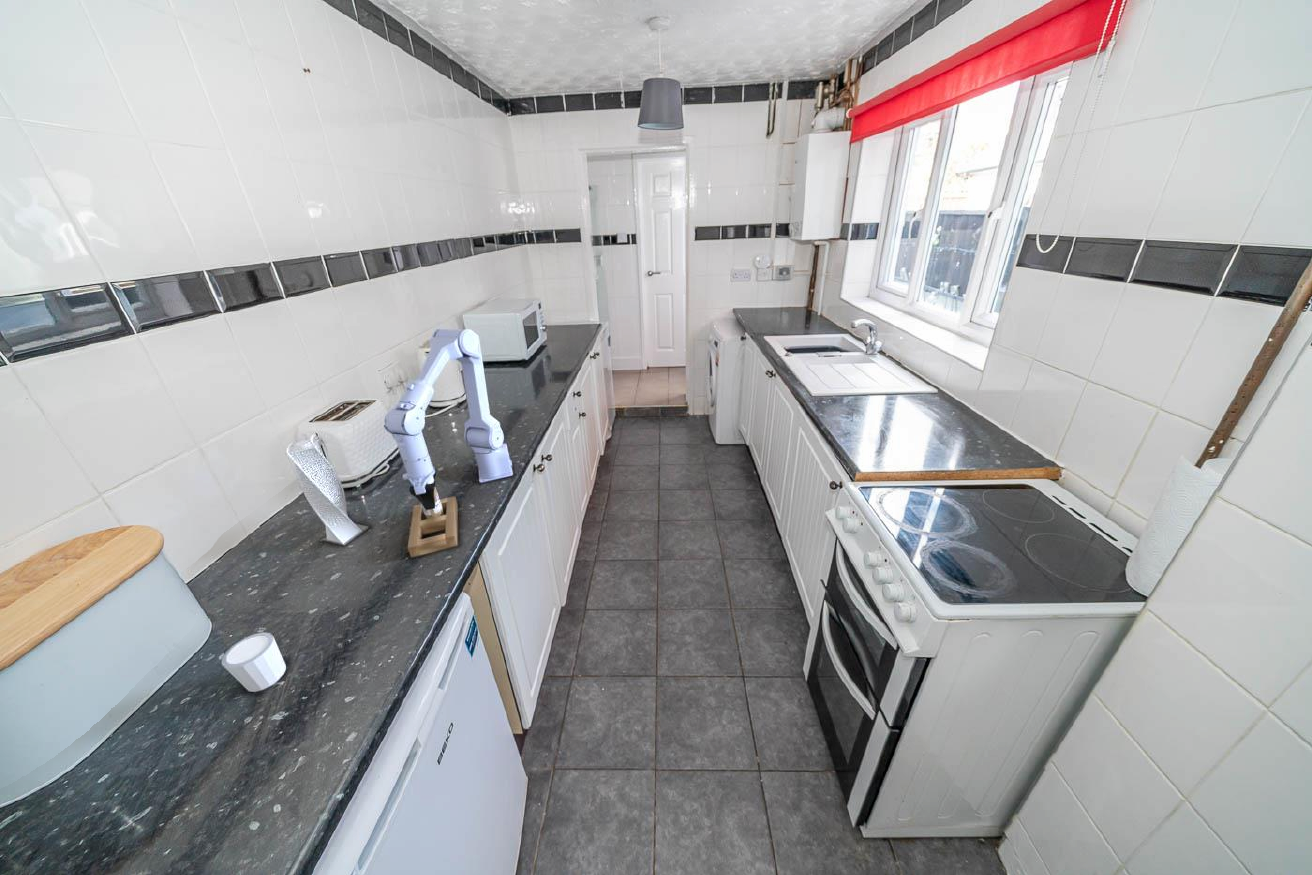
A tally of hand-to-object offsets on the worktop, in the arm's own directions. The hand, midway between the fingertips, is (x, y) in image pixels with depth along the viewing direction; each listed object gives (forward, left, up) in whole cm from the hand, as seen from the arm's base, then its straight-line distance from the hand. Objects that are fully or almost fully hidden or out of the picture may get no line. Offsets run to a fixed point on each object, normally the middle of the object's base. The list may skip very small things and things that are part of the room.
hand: (431, 503), depth 114 cm
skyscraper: (+21, -3, -6) cm, 22 cm away
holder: (0, +4, -5) cm, 7 cm away
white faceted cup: (+26, +36, -6) cm, 45 cm away
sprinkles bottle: (0, 0, -6) cm, 6 cm away
